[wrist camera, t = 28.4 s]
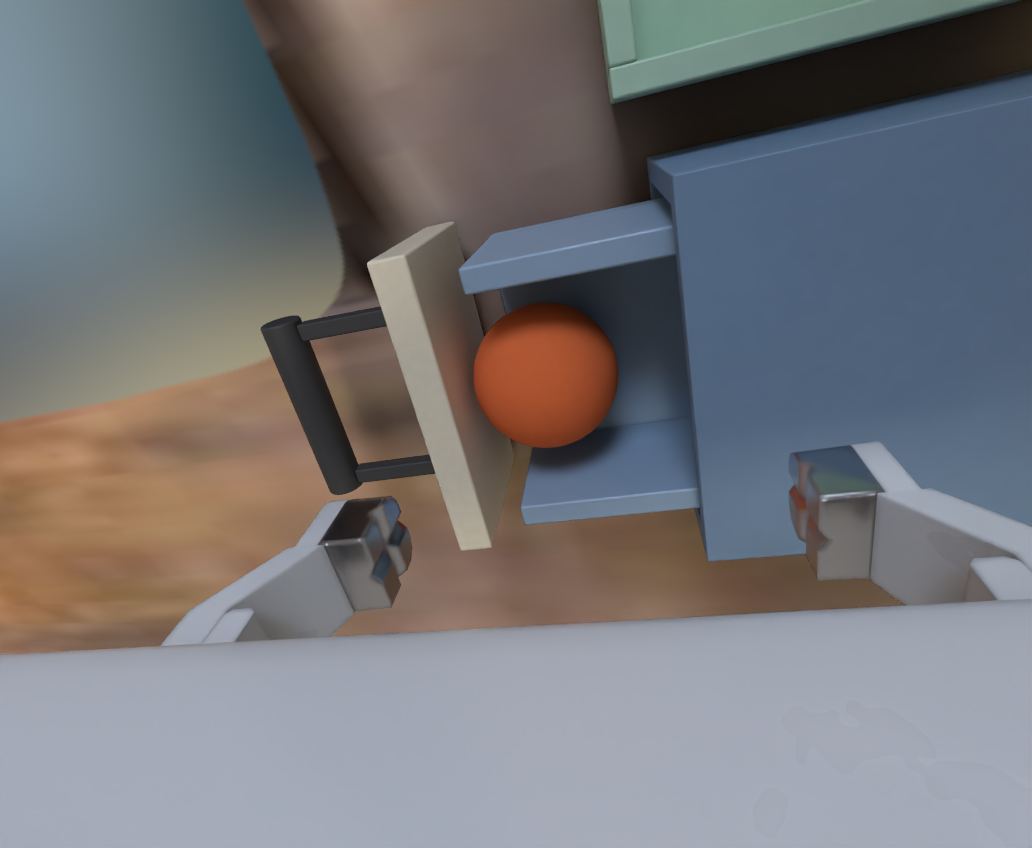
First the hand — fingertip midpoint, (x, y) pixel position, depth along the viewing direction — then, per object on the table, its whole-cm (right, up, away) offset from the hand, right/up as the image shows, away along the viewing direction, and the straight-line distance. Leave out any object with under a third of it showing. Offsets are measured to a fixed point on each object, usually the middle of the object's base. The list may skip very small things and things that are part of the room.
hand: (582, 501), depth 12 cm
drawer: (0, +5, +11) cm, 12 cm away
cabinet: (+11, +7, +10) cm, 16 cm away
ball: (0, +3, +8) cm, 9 cm away
